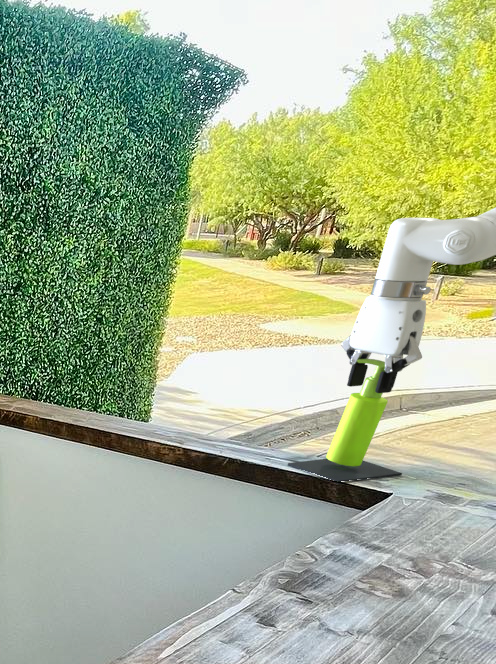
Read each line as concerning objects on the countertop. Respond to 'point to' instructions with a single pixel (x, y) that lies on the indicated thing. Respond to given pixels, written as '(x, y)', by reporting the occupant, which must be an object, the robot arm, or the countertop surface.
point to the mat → (344, 470)
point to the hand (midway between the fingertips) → (368, 388)
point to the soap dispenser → (358, 421)
